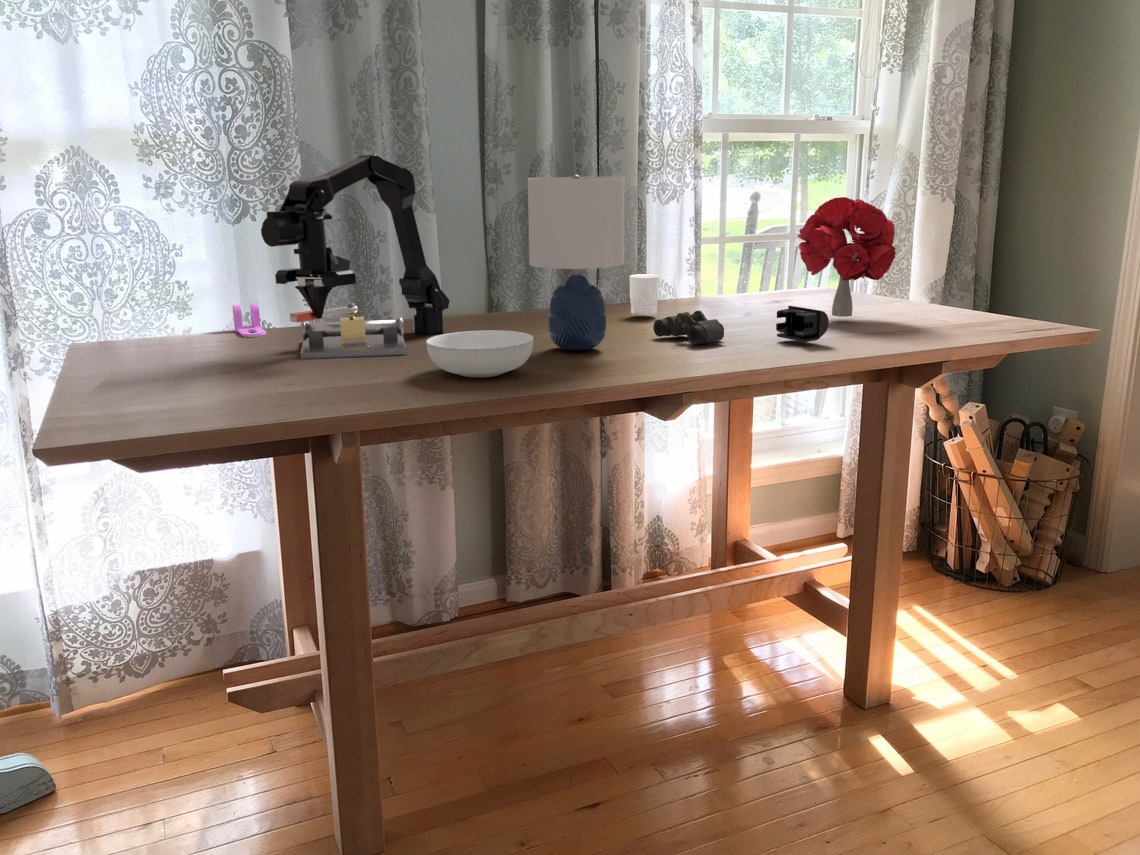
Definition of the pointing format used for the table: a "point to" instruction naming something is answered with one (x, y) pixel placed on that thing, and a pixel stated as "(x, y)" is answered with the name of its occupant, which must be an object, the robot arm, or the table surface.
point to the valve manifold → (353, 338)
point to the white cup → (644, 293)
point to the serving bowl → (480, 352)
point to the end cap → (802, 324)
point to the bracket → (255, 321)
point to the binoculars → (690, 327)
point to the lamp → (576, 249)
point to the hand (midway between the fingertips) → (319, 318)
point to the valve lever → (327, 312)
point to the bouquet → (848, 245)
